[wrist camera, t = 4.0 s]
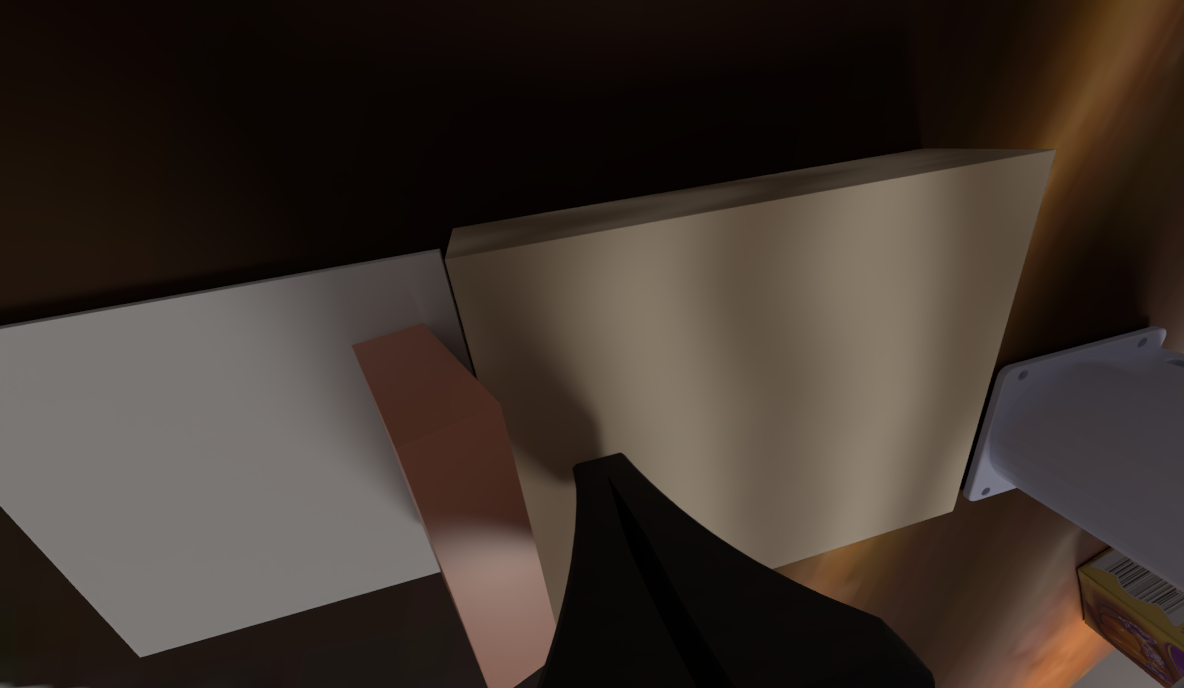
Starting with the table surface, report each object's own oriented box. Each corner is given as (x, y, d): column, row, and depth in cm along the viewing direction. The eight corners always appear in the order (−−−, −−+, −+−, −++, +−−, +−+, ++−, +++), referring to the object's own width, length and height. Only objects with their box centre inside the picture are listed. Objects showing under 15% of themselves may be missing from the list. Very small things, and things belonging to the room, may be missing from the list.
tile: (500, 404, 9) (395, 448, 8) (562, 651, 12) (493, 702, 11) (422, 323, 14) (351, 345, 13) (483, 518, 17) (430, 546, 16)
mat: (440, 248, 13) (439, 251, 13) (520, 540, 18) (521, 548, 18) (-120, 347, 11) (-140, 353, 11) (147, 646, 16) (139, 657, 16)
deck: (923, 148, 16) (1056, 149, 12) (872, 449, 21) (952, 511, 18) (452, 228, 13) (445, 259, 10) (534, 545, 19) (549, 640, 15)
